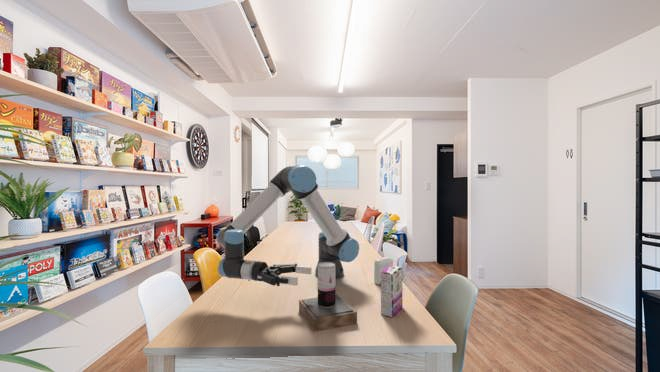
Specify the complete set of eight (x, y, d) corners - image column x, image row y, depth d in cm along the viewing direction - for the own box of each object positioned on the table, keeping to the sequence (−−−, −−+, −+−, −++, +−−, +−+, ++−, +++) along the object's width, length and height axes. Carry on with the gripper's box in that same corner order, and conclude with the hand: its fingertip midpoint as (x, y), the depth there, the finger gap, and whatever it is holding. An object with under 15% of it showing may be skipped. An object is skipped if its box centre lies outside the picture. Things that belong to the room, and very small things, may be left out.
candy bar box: (390, 304, 127) (391, 264, 126) (402, 307, 124) (403, 266, 124) (379, 315, 117) (380, 271, 117) (392, 318, 115) (392, 273, 114)
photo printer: (388, 279, 159) (388, 255, 159) (394, 281, 155) (394, 256, 155) (372, 283, 153) (373, 258, 153) (378, 285, 150) (379, 259, 149)
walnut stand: (336, 304, 127) (336, 293, 127) (357, 323, 111) (357, 310, 111) (299, 310, 121) (299, 299, 121) (314, 331, 105) (314, 318, 105)
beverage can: (333, 300, 120) (333, 261, 119) (337, 307, 113) (337, 266, 113) (316, 301, 119) (316, 262, 118) (319, 308, 112) (319, 267, 112)
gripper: (270, 271, 137) (315, 275, 130) (236, 290, 113) (290, 297, 107) (270, 254, 137) (315, 258, 130) (236, 270, 113) (290, 275, 107)
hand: (304, 275), depth 118 cm, fingers open, 13 cm apart
